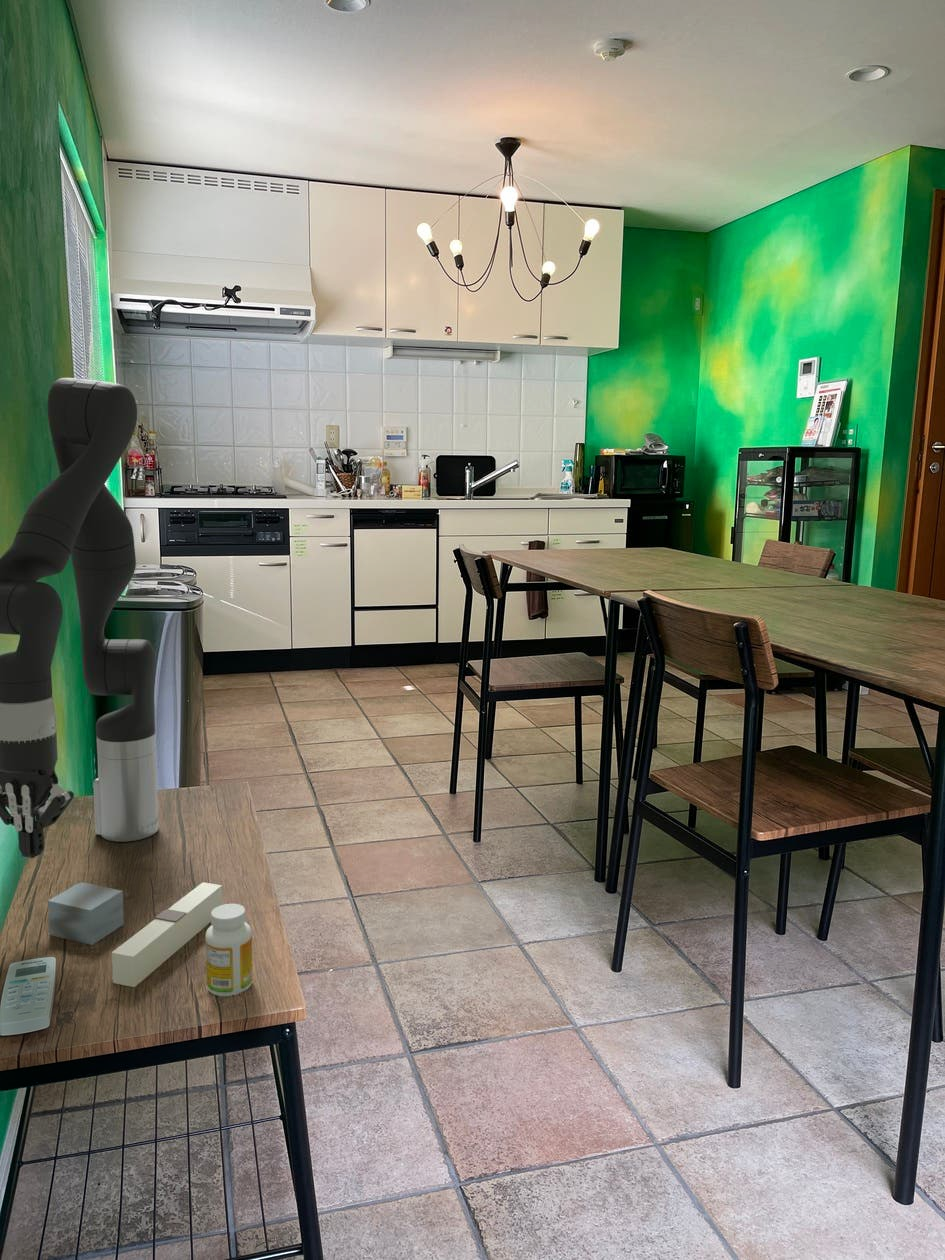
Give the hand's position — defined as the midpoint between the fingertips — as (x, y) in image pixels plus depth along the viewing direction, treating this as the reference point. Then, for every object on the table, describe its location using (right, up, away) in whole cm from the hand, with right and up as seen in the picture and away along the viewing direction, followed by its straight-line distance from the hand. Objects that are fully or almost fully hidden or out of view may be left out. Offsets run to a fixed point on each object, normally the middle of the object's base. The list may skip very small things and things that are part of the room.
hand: (31, 855), depth 124 cm
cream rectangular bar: (+20, -11, -4) cm, 23 cm away
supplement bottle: (+30, -13, -12) cm, 35 cm away
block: (+8, -10, 0) cm, 13 cm away
